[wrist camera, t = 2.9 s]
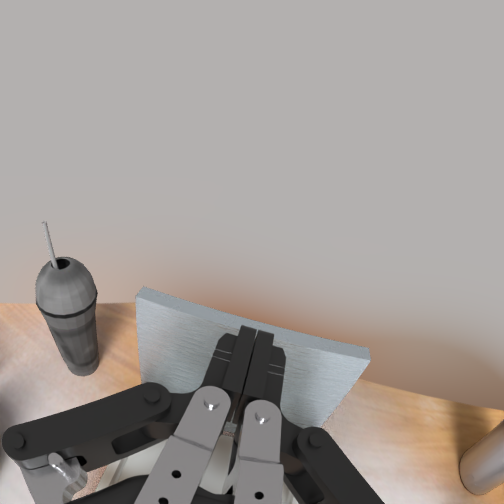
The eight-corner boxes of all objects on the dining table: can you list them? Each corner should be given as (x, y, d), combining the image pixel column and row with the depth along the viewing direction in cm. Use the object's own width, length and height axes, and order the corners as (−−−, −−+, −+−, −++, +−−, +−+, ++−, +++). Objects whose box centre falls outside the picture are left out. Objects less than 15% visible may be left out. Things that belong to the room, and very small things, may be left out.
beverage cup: (112, 382, 31) (91, 238, 22) (58, 386, 28) (12, 243, 18) (105, 340, 37) (93, 204, 27) (57, 343, 33) (29, 207, 24)
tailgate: (302, 447, 24) (370, 360, 18) (144, 403, 25) (135, 296, 19) (303, 432, 26) (367, 342, 19) (151, 390, 27) (147, 281, 20)
